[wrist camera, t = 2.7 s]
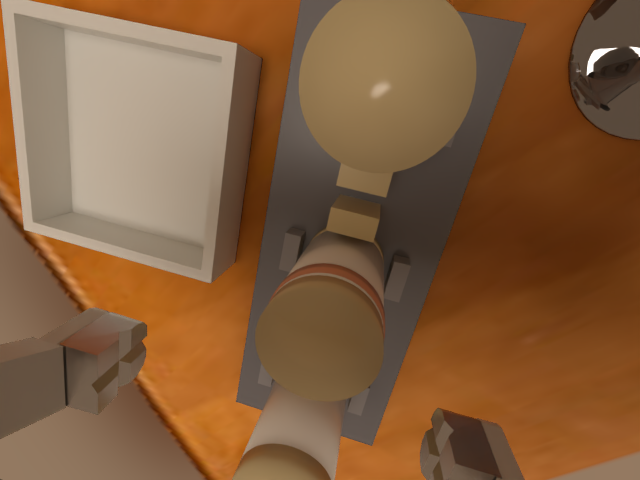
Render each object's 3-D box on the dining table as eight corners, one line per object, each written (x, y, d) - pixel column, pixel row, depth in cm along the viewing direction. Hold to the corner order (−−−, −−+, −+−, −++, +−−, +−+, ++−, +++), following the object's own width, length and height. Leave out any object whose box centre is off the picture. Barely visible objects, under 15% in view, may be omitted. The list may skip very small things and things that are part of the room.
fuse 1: (356, 356, 19) (339, 489, 12) (340, 409, 20) (316, 556, 13) (289, 336, 19) (234, 453, 12) (277, 389, 21) (223, 522, 14)
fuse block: (512, 34, 14) (565, -7, 10) (372, 425, 22) (370, 495, 18) (311, -3, 15) (282, -56, 11) (245, 385, 23) (213, 441, 19)
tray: (262, 58, 16) (237, 43, 14) (235, 262, 20) (210, 283, 17) (62, 16, 18) (0, -6, 15) (71, 216, 21) (24, 229, 18)
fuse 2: (444, 67, 14) (506, -1, 7) (415, 163, 15) (441, 190, 8) (350, 48, 14) (317, -34, 7) (330, 143, 16) (285, 153, 9)
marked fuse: (394, 233, 16) (402, 310, 9) (373, 305, 18) (365, 418, 11) (314, 213, 17) (263, 271, 10) (299, 284, 18) (245, 380, 11)
